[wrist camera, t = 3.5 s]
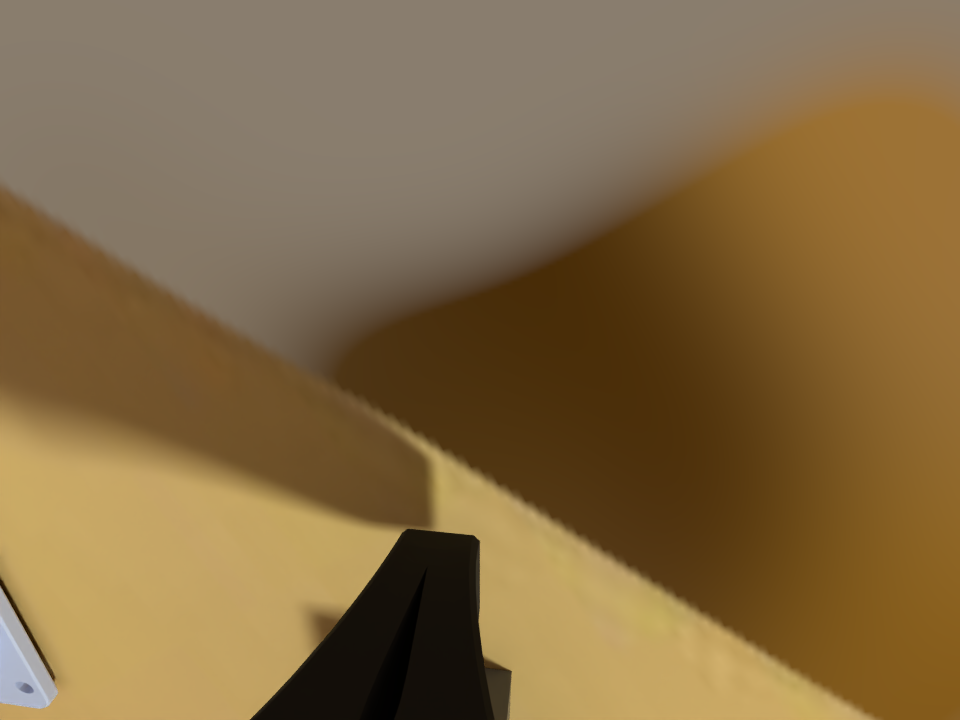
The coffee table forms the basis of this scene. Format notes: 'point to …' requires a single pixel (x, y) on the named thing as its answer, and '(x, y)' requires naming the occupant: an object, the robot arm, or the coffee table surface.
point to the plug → (499, 692)
